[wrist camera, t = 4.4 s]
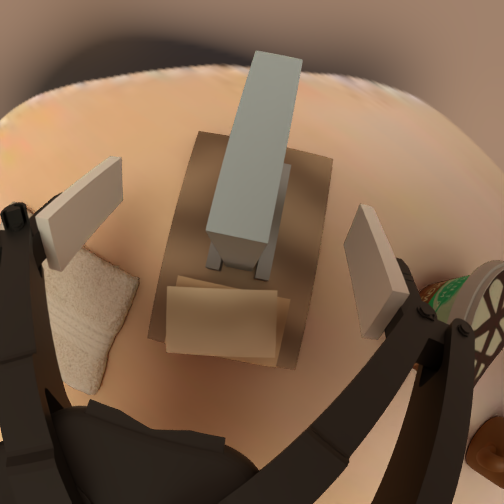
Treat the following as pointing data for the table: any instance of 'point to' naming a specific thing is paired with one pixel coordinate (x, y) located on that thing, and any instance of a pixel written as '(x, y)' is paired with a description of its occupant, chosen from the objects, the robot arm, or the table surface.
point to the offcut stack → (225, 321)
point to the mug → (488, 451)
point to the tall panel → (254, 161)
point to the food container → (473, 309)
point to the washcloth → (86, 315)
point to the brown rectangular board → (275, 253)
